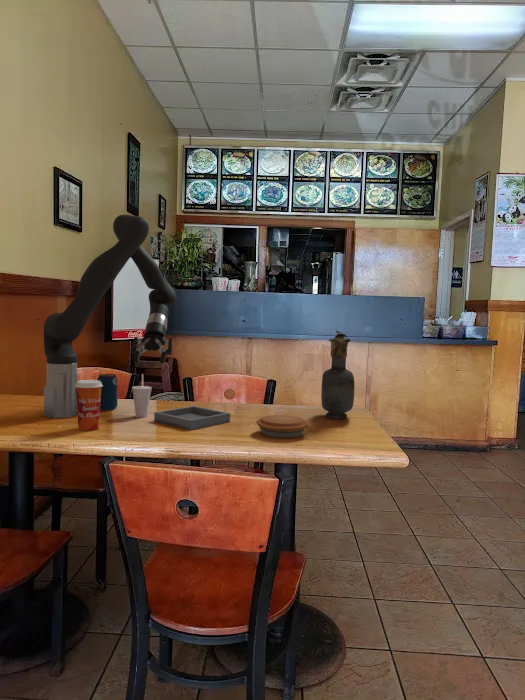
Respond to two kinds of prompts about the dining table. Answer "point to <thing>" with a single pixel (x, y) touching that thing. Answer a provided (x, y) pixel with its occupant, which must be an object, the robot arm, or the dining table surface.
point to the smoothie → (141, 399)
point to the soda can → (108, 391)
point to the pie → (282, 426)
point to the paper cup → (88, 404)
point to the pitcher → (338, 381)
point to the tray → (192, 417)
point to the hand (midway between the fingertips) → (149, 361)
